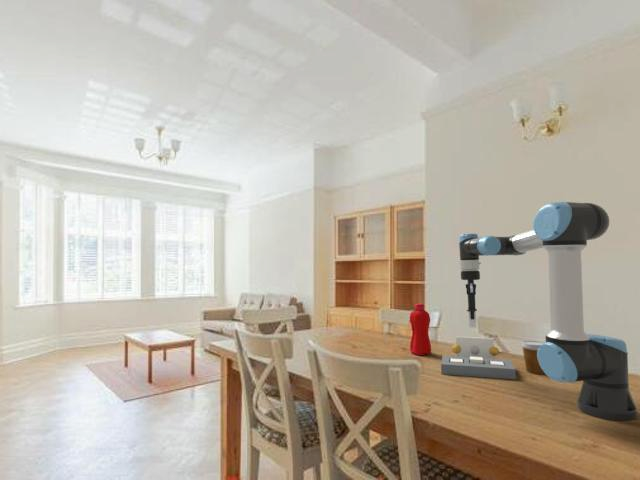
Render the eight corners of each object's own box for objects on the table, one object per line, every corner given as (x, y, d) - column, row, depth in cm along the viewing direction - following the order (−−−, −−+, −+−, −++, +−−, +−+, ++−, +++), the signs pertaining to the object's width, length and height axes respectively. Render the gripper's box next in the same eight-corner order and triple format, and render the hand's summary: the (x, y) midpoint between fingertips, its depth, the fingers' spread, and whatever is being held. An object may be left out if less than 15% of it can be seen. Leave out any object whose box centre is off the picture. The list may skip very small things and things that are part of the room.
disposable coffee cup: (552, 375, 164) (551, 345, 165) (529, 375, 164) (527, 345, 165) (540, 368, 173) (539, 340, 174) (518, 368, 174) (517, 340, 174)
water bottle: (404, 352, 206) (403, 303, 207) (423, 350, 210) (422, 302, 211) (414, 356, 197) (413, 305, 199) (433, 354, 201) (432, 304, 202)
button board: (515, 379, 158) (515, 369, 159) (441, 373, 167) (441, 364, 168) (510, 368, 174) (510, 359, 174) (442, 364, 183) (442, 355, 183)
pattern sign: (499, 365, 180) (498, 339, 180) (452, 361, 186) (451, 336, 187) (498, 361, 186) (497, 336, 186) (452, 358, 192) (451, 334, 193)
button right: (504, 372, 165) (504, 364, 165) (491, 371, 166) (490, 364, 167) (503, 369, 170) (502, 361, 170) (490, 368, 171) (490, 361, 171)
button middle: (483, 367, 167) (483, 360, 168) (470, 366, 169) (470, 359, 169) (482, 364, 172) (482, 357, 172) (470, 363, 174) (469, 356, 174)
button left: (462, 369, 170) (462, 362, 170) (450, 368, 172) (450, 361, 172) (462, 366, 175) (462, 359, 175) (450, 365, 176) (450, 358, 176)
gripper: (480, 270, 163) (483, 329, 161) (478, 270, 175) (481, 325, 173) (461, 270, 165) (463, 329, 163) (460, 270, 177) (462, 324, 176)
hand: (472, 327), depth 168 cm, fingers closed
